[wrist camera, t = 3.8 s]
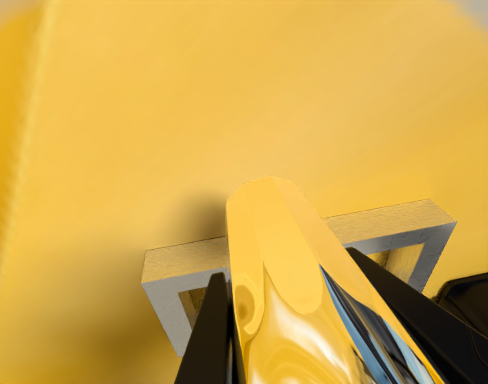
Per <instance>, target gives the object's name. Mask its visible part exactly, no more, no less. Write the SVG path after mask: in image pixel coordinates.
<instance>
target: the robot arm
mask: <svg viewBox="0 0 488 384" xmlns="http://www.w3.org/2000/svg"><path fill="white" fill-rule="evenodd" d="M345 249H346V251H347V252H348V253H349V255H350V256H351V257H352V259H353V260H354V261H355V263H356V264H357V265H358V267H359V268H360V269H361V271H362V272H363V273H364V274H365V276H366V277H367V278H368V280H369V281H370V282H371V284H372V285H373V286H374V287H375V289H376V290H377V291H378V292H379V293H380V295H381V296H382V297H383V298H384V300H385V301H386V302H387V303H388V304H389V306H390V307H391V308H392V309H393V310H394V312H395V313H396V314H397V315H398V316H399V318H400V319H401V320H402V321H403V322H404V324H405V325H406V326H407V327H408V329H409V330H410V331H411V332H412V333H413V335H414V336H415V337H416V338H417V340H418V341H419V342H420V343H421V345H422V346H423V347H424V348H425V350H426V351H427V352H428V353H429V355H430V356H431V357H432V358H433V359H434V361H435V362H436V363H437V364H438V366H439V367H440V368H441V369H442V371H443V372H444V373H445V374H446V376H447V377H448V378H449V379H450V381H451V382H452V383H453V384H488V274H483V275H478V276H474V277H469V278H464V279H460V280H455V281H452V282H450V283H448V284H447V286H446V288H445V289H444V291H443V293H442V295H441V296H440V298H439V300H438V302H437V303H435V302H433V301H432V300H430V299H429V298H427V297H426V296H424V295H423V294H422V293H420V292H419V291H417V290H416V289H414V288H413V287H411V286H410V285H408V284H407V283H405V282H404V281H403V280H401V279H400V278H398V277H397V276H395V275H394V274H392V273H391V272H389V271H388V270H386V269H385V268H383V267H382V266H381V265H379V264H378V263H376V262H375V261H373V260H372V259H370V258H369V257H367V256H366V255H364V254H363V253H362V252H360V251H359V250H357V249H356V248H354V247H346V248H345ZM231 363H232V348H231V319H230V307H229V293H228V287H227V282H226V278H225V273H224V272H217V273H213V274H212V275H211V276H210V279H209V282H208V285H207V288H206V291H205V294H204V297H203V300H202V303H201V306H200V309H199V312H198V314H197V317H196V320H195V323H194V326H193V329H192V332H191V335H190V338H189V341H188V344H187V347H186V350H185V353H184V356H183V359H182V361H181V364H180V367H179V370H178V373H177V376H176V379H175V382H174V384H231Z"/></svg>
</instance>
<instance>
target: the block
mask: <svg viewBox="0 0 488 384" xmlns="http://www.w3.org/2000/svg"><path fill="white" fill-rule="evenodd" d="M323 220H324V222H325V223H326V224H327V226H328V227H329V228H330V230H331V231H332V232H333V234H334V235H335V236H336V237H337V239H338V240H339V241H340V243H341V244H342V245H343V247H344V248H346V247H354V248H356V249H357V250H359V251H360V252H362V253H363V254H364V255H368V254H373V253H378V252H383V251H388V250H390V253H389V256H388V259H387V262H386V265H385V269H386V270H388V271H389V272H391V273H392V274H394V275H395V276H397V277H398V278H400V279H401V280H403V281H404V282H405V283H407V284H408V285H410V286H411V287H413V288H414V289H416V290H417V291H419V292H420V293H422V291H423V289H424V287H425V285H426V283H427V281H428V279H429V277H430V275H431V273H432V271H433V269H434V267H435V265H436V263H437V261H438V259H439V257H440V255H441V253H442V251H443V249H444V247H445V245H446V243H447V241H448V239H449V237H450V235H451V233H452V231H453V229H454V227H455V225H456V223H457V221H456V220H454V219H453V218H452V217H451V216H450V215H448V214H447V213H446V212H445V211H443V210H442V209H441V208H440V207H439V206H437V205H436V204H435V203H434V202H432V201H431V200H430V199H426V200H420V201H415V202H410V203H404V204H399V205H393V206H388V207H382V208H377V209H372V210H366V211H361V212H355V213H350V214H345V215H339V216H334V217H328V218H323ZM217 272H224V273H225V278H226V282H228V270H227V252H226V236H225V237H220V238H214V239H209V240H204V241H198V242H193V243H187V244H182V245H176V246H171V247H166V248H160V249H155V250H149V251H146V255H145V261H144V267H143V273H142V279H141V285H142V286H143V288H144V290H145V292H146V294H147V296H148V298H149V300H150V302H151V304H152V306H153V308H154V310H155V312H156V314H157V316H158V318H159V320H160V322H161V324H162V326H163V328H164V330H165V332H166V334H167V336H168V338H169V340H170V342H171V344H172V346H173V348H174V350H175V352H176V354H177V356H178V357H182V356H184V353H185V350H186V347H187V344H188V341H189V338H190V335H191V332H192V329H193V326H194V323H195V320H196V317H197V314H198V312H197V313H196V311H195V308H194V305H193V302H192V299H191V296H190V293H189V290H192V289H197V288H202V287H207V285H208V282H209V279H210V276H211V275H212V274H213V273H217Z"/></svg>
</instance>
